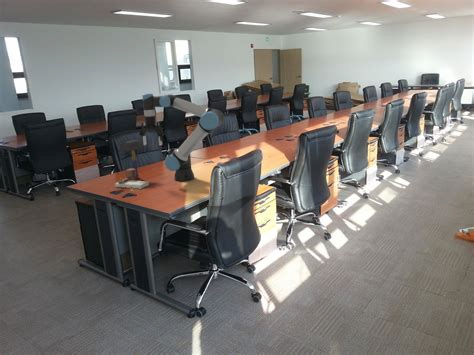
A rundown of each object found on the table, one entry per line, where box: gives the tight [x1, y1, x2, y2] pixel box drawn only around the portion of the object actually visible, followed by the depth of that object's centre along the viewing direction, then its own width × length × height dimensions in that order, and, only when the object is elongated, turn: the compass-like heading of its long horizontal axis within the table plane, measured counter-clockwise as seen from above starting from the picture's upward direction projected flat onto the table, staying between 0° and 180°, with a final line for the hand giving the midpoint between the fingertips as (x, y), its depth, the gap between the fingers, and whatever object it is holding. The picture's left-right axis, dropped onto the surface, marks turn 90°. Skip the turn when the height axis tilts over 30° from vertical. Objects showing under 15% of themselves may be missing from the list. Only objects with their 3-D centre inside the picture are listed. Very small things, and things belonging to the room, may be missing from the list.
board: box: [114, 180, 149, 190], centre depth 291 cm, size 10×22×3 cm, turn 67°
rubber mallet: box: [123, 139, 142, 179], centre depth 308 cm, size 12×8×30 cm, turn 153°
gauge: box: [117, 167, 138, 184], centre depth 295 cm, size 17×5×10 cm, turn 158°
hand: (153, 145), depth 289 cm, fingers open, 13 cm apart
